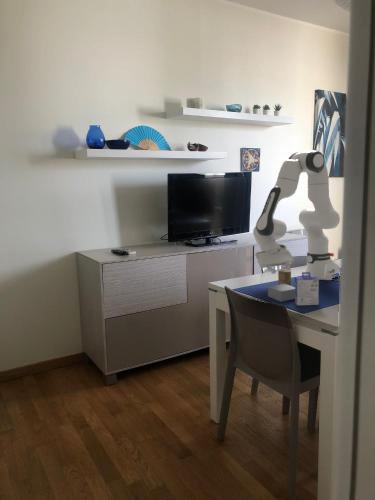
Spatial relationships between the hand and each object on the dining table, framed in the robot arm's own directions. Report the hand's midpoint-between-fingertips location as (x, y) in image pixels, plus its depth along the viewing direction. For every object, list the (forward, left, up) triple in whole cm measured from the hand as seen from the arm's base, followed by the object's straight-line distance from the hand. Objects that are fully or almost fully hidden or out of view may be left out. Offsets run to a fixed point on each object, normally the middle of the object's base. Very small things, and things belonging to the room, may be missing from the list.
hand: (281, 271), depth 212 cm
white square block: (+9, +12, -9) cm, 17 cm away
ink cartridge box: (+6, +25, -9) cm, 28 cm away
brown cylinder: (0, +2, -9) cm, 9 cm away
